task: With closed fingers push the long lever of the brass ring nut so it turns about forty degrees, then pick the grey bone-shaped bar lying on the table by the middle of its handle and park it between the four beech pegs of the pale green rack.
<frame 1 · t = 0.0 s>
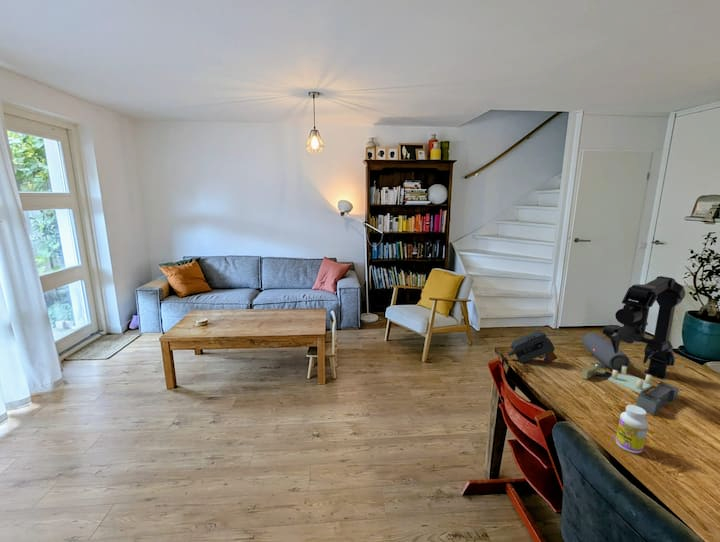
hand: (629, 358, 127), 15 cm above the table, fingers open, 9 cm apart
supplement bottle: (628, 446, 102), on the table
grey bone-shaped bar: (656, 403, 123), on the table
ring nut: (593, 370, 142), point 2 cm above the table, hinge at 0.0°
tool: (530, 361, 155), on the table
flange: (597, 372, 145), on the table
bluetooth speaker: (602, 362, 154), on the table
rack: (630, 383, 137), on the table
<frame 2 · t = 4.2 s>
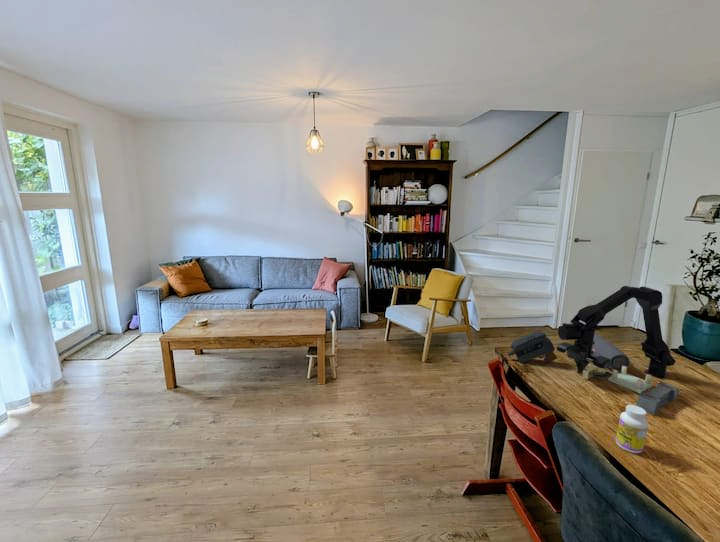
hand: (579, 373, 142), 1 cm above the table, fingers closed
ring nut: (593, 370, 142), point 2 cm above the table, hinge at 2.3°, touching gripper
everything else where it was.
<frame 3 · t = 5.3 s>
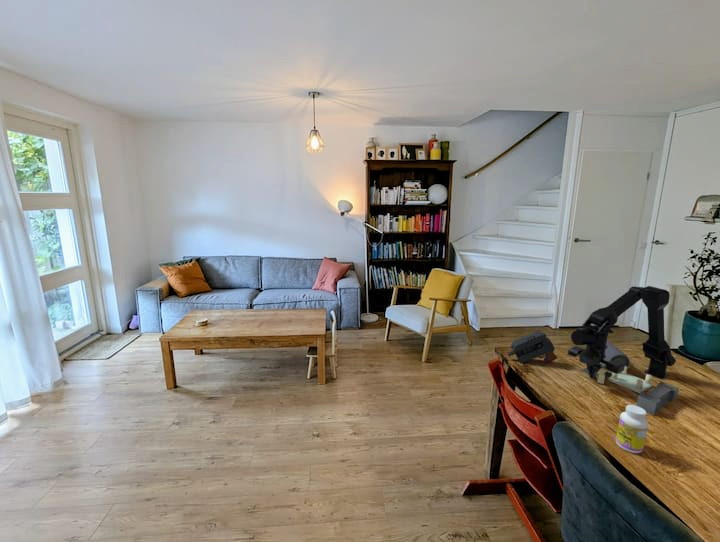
hand: (591, 377, 138), 2 cm above the table, fingers closed
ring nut: (599, 371, 141), point 2 cm above the table, hinge at 32.2°, touching gripper
everything else where it was.
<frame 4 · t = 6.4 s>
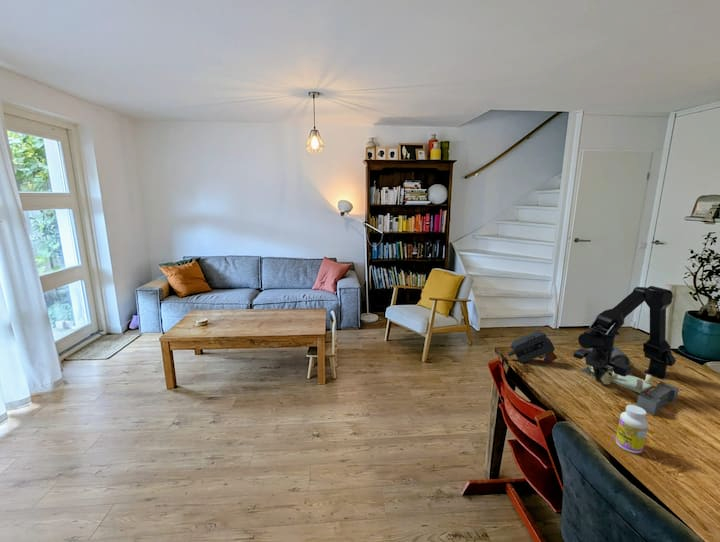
hand: (598, 380, 136), 2 cm above the table, fingers closed
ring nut: (601, 372, 141), point 2 cm above the table, hinge at 43.3°, touching gripper
everything else where it was.
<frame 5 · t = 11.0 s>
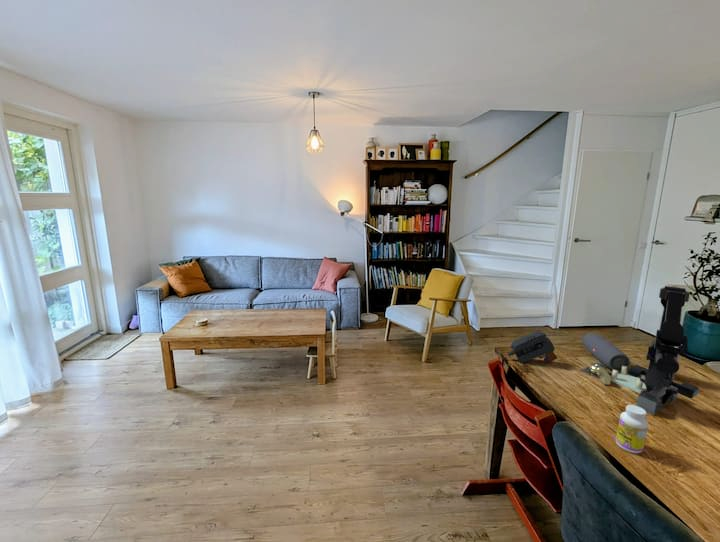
hand: (656, 401, 123), 1 cm above the table, fingers closed on grey bone-shaped bar, 3 cm apart
grey bone-shaped bar: (656, 403, 123), on the table, touching gripper
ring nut: (601, 372, 141), point 2 cm above the table, hinge at 43.6°
everything else where it was.
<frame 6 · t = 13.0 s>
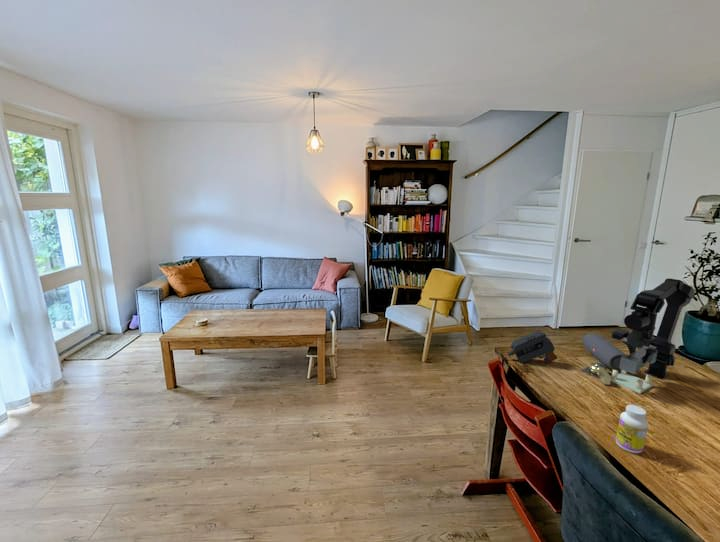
hand: (638, 361, 133), 11 cm above the table, fingers closed on grey bone-shaped bar, 3 cm apart
grey bone-shaped bar: (637, 364, 133), point 9 cm above the table, touching gripper
everything else where it was.
when the fingers open (3 cm above the table, at t = 15.2 s): grey bone-shaped bar stays where it is, resting on rack.
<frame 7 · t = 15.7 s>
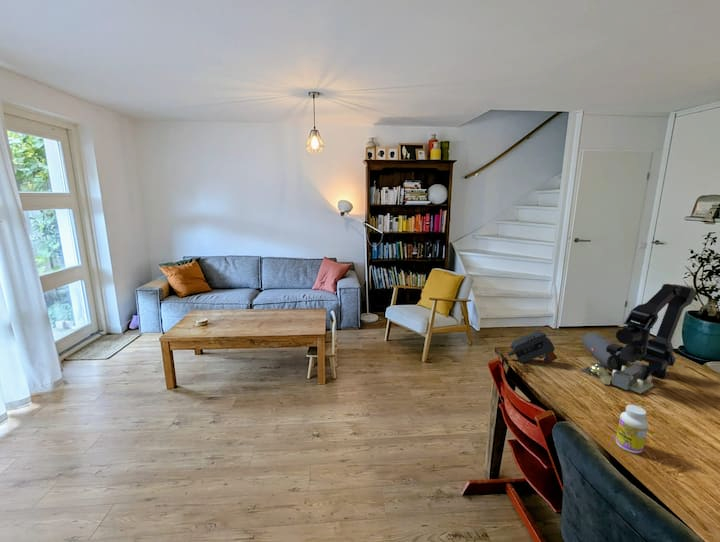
hand: (631, 375, 136), 4 cm above the table, fingers open, 8 cm apart
grey bone-shaped bar: (630, 380, 136), point 1 cm above the table, touching rack
bluetooth speaker: (601, 361, 155), on the table, touching gripper
everything else where it was.
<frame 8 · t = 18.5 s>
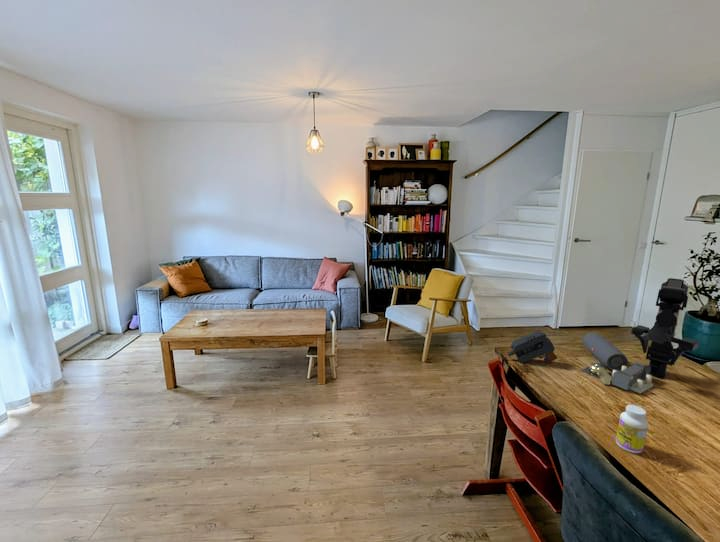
hand: (659, 357, 131), 13 cm above the table, fingers open, 9 cm apart
bluetooth speaker: (601, 361, 155), on the table
everything else where it was.
at the end: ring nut at +44° (first picture: +0°); grey bone-shaped bar 0.0 cm off-centre on the rack, point 1.0 cm above the rack's base; grey bone-shaped bar tilted 0° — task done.
